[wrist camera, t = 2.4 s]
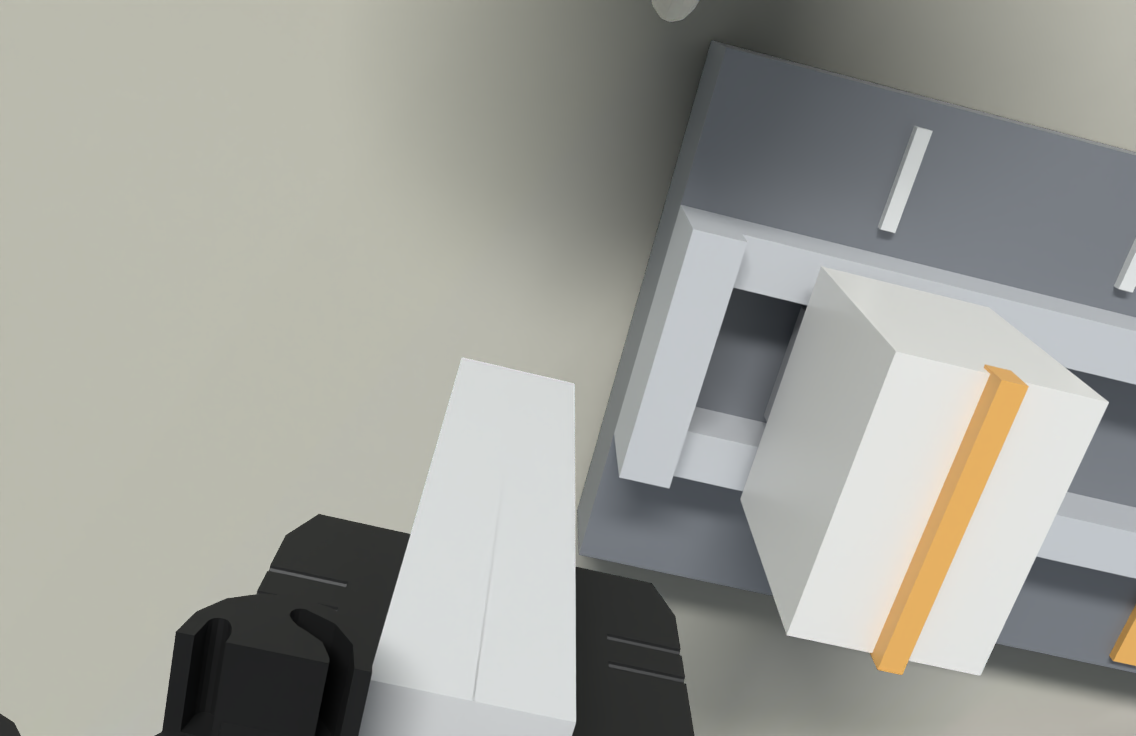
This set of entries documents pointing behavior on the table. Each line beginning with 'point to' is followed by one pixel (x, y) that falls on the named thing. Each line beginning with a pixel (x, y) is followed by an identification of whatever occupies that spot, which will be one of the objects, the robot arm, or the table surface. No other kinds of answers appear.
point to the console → (882, 252)
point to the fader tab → (910, 471)
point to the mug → (674, 8)
